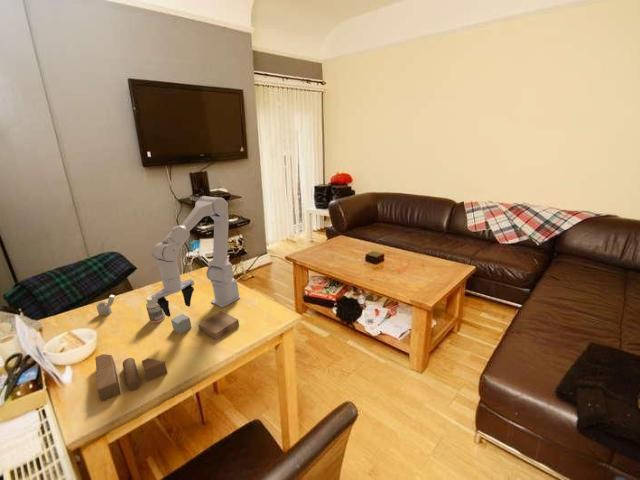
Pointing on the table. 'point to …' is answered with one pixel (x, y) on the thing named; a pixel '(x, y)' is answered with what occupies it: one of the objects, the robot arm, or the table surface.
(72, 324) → the table surface
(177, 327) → the grey cube
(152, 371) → the wooden block set
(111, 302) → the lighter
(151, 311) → the pill bottle
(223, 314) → the walnut block
